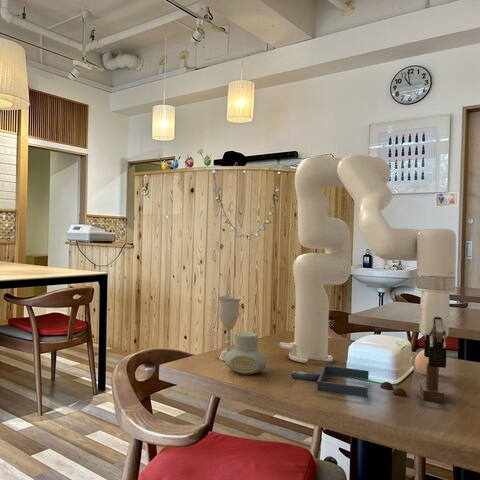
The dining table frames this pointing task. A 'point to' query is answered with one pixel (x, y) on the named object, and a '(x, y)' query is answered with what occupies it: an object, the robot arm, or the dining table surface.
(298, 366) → the dining table surface
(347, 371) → the dustpan
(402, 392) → the crumb
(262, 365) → the air freshener
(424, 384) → the wooden stamp
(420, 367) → the egg
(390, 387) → the crumb
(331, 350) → the dining table surface
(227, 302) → the chalice
